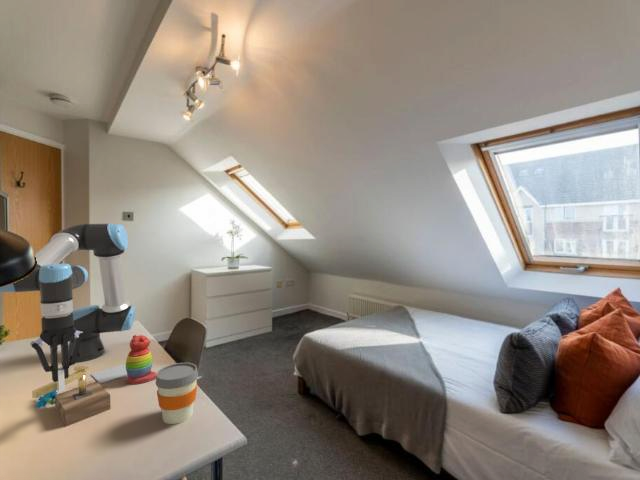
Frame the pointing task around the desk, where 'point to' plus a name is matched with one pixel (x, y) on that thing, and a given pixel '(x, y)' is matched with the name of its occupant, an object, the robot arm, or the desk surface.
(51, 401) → the gear
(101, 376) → the mat
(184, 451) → the desk surface
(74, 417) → the lock block
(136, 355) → the stacking bear
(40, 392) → the gold piece
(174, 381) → the reusable coffee cup
